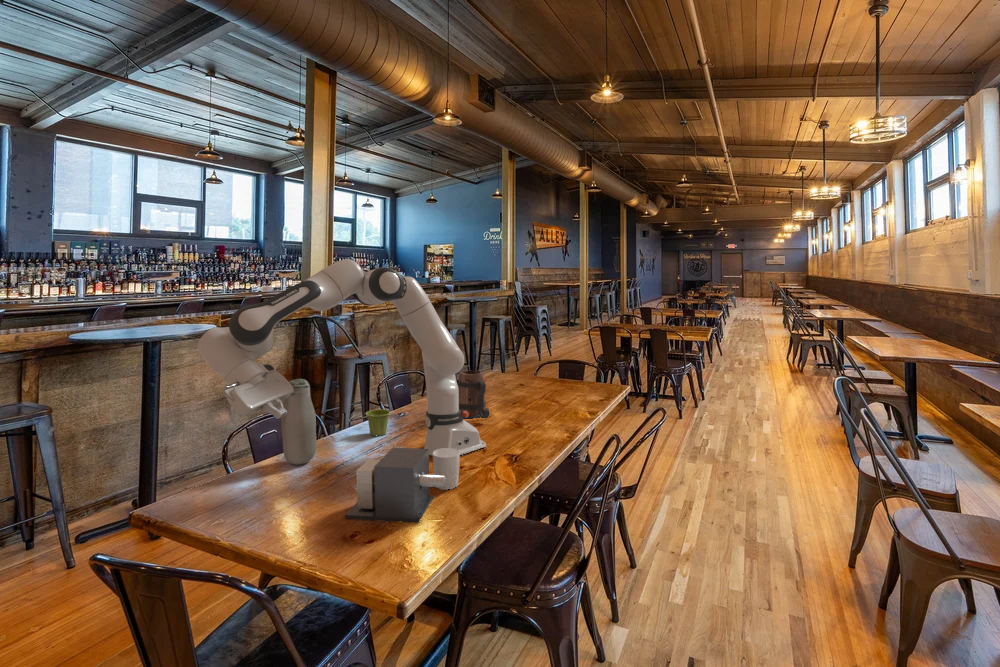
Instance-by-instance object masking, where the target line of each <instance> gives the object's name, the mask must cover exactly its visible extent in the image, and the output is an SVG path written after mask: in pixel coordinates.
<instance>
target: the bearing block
mask: <svg viewBox="0 0 1000 667" xmlns="http://www.w3.org/2000/svg"><path fill="white" fill-rule="evenodd" d="M379 460H380V461H379V462H378V463H377V464H376V465H375V466H374V475H375V507H374V508H373V509H366V508H358V502H356V503H354V505H353V506H352V507H351V508H350V509H349V510H348V511H347V513H346V514H345V515H344V516H345V517H344V519H346V520H359V519H362V521H376V520H385V521H384V522H394V521H402V522H401V523H411V522H419V521H420V522H421V520H420V519H422V518H423V517H424V515H425V513H426V511H427V510H426V509H429V508H428V507H429V506H430V505H429V504H431V503H432V501H433V499H434V495H433V494H431V493H430V487H424V486H420V475H421V474H426V475H430V455H429V449H424V448H418V447H417V448H415V447H414V448H413V447H392V448H391V449H390V450H388V452H386V454H385V455H384V456H383V457H382V458H381V459H379ZM423 514H424V515H423ZM420 522H419V523H420Z"/></svg>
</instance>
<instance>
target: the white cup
mask: <svg viewBox="0 0 1000 667" xmlns="http://www.w3.org/2000/svg"><path fill="white" fill-rule="evenodd" d="M432 454H433V456H432V466H433V475H445V476H446V484H445V487H435V488H436V489H437V488H438V489H437V490H441V491H449V490H448V489H450V490H453V488H454V489H456V488H457V487H458V486H459V476H460V457H461V456H460V451H459V450H457V449H453V448H442V449H438V450H435V451H434V452H433V453H432ZM455 487H456V488H455Z"/></svg>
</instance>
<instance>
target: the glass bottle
mask: <svg viewBox="0 0 1000 667" xmlns="http://www.w3.org/2000/svg"><path fill="white" fill-rule="evenodd" d="M288 382H289V383H290V384H291V385H292V387H293V390H294V391H293V393H292V394H291V395H290V396H289V397H288V398H286V399H284V404H283V407H284V409H285V410H286V411H287V414H286V415H285V416H283V417H281V419H280V420H281V435H282V436H281V438H282V450H283V457H284V458H285V460H286V461H287V462H288V463H289V464H291V465H295V466H296V465H297V466H300V465H304V464H306V463H308V462H310V461H312V460H313V458H314V456H315V455H316V453H317V452H316V451H317V421H316V420H317V418H316V411H315V407H314V404H313V401H312V396H311V385H310V383H309V381H307V380H306V379H305V378H304V379H303V378H296V379H292V380H290V381H288Z"/></svg>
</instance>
